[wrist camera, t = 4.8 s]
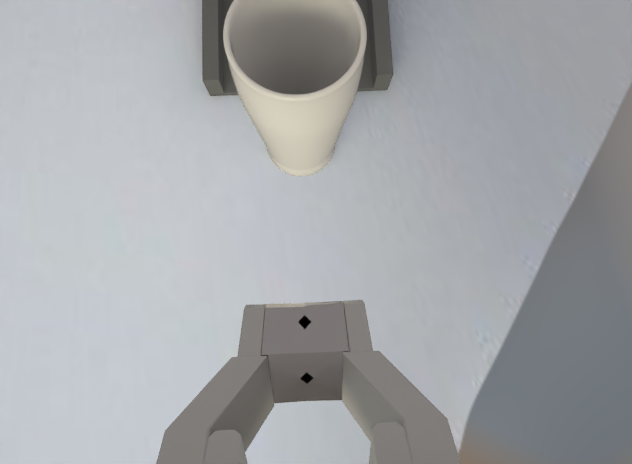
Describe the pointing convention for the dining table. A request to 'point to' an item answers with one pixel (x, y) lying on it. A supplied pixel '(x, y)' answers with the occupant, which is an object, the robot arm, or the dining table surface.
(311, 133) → the drinking glass
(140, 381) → the dining table surface
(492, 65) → the dining table surface
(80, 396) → the dining table surface
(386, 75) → the tray
